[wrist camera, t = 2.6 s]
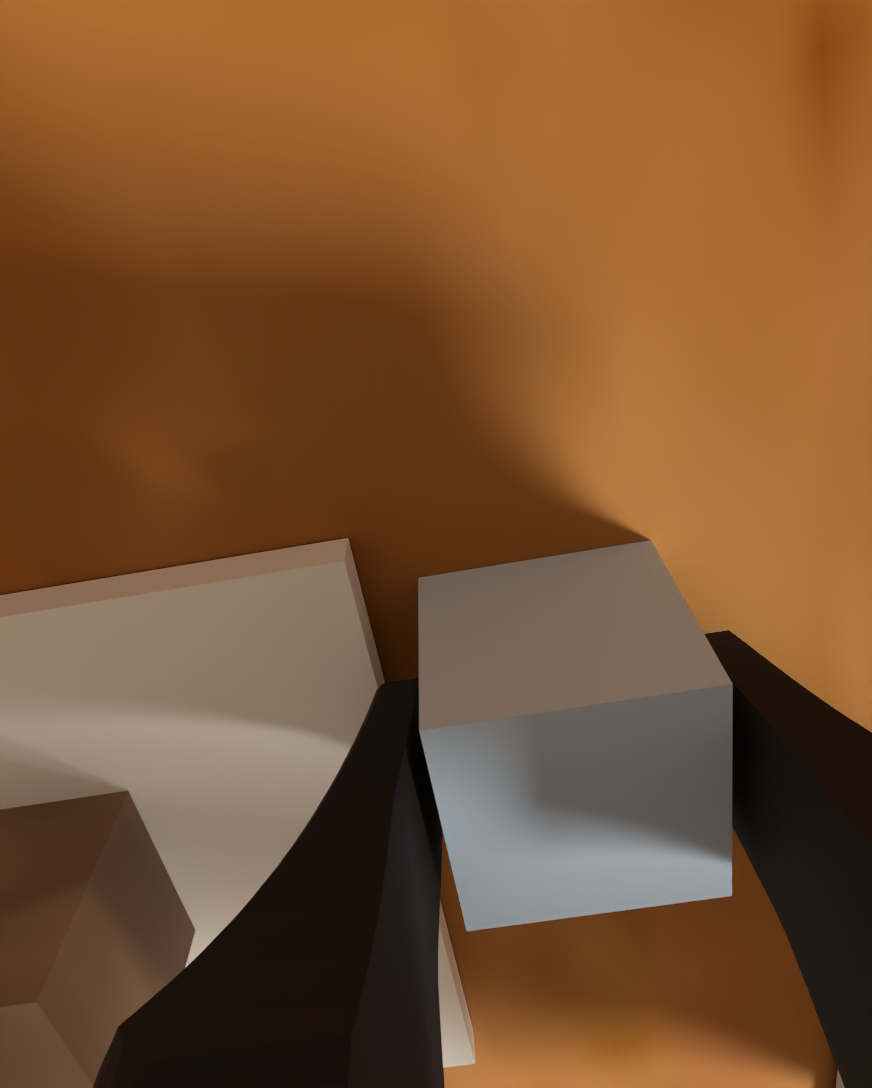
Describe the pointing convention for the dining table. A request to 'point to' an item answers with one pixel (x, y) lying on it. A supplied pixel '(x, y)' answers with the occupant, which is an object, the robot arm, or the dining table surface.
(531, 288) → the dining table surface
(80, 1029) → the walnut block
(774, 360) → the dining table surface
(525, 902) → the gray block
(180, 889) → the board
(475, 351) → the dining table surface
